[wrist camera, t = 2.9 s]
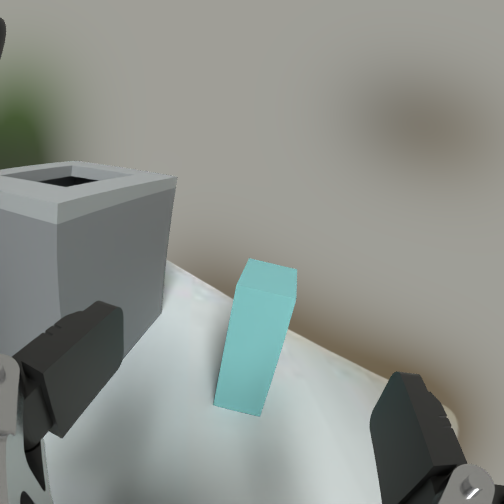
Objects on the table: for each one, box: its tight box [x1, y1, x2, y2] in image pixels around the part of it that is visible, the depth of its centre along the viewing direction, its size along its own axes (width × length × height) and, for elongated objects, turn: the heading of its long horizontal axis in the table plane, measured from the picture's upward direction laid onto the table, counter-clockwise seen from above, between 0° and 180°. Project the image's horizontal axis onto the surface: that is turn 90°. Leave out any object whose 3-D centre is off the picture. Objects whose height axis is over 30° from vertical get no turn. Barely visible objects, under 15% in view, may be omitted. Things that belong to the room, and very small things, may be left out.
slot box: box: [0, 161, 177, 358], centre depth 23 cm, size 12×16×14 cm
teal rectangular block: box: [213, 258, 297, 416], centre depth 22 cm, size 4×5×10 cm
